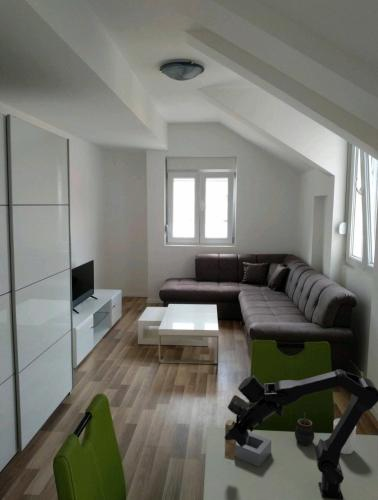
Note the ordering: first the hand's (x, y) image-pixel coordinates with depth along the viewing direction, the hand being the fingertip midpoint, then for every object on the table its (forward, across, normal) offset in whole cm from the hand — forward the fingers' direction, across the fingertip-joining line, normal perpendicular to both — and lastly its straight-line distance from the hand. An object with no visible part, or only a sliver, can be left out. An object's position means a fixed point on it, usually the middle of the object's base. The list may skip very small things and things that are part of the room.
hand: (226, 435), depth 134 cm
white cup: (-17, -30, +36) cm, 50 cm away
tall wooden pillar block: (+4, 0, +6) cm, 7 cm away
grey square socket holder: (+5, -14, +14) cm, 20 cm away
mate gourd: (-6, -29, +26) cm, 40 cm away
